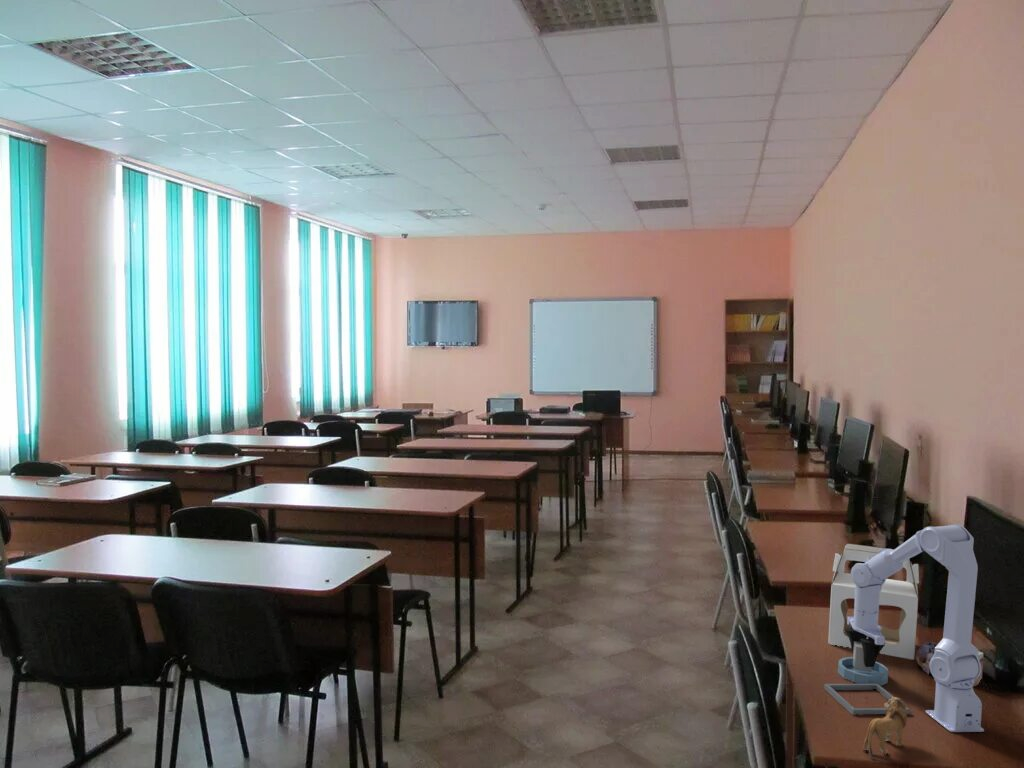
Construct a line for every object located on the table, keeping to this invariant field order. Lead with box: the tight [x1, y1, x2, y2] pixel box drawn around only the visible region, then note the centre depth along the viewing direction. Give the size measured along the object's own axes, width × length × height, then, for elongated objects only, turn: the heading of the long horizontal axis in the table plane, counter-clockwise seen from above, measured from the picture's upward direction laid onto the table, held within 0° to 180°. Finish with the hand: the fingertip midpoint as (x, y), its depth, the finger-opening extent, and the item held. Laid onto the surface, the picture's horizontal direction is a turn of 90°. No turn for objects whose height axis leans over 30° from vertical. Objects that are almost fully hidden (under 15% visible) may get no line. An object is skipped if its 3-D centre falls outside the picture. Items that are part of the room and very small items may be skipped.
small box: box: [973, 651, 984, 688], centre depth 201 cm, size 5×4×8 cm
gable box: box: [827, 543, 920, 661], centre depth 224 cm, size 22×13×28 cm, turn 64°
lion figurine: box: [862, 696, 908, 757], centre depth 167 cm, size 15×5×9 cm, turn 134°
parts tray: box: [823, 683, 911, 716], centre depth 188 cm, size 14×14×1 cm
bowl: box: [837, 656, 889, 687], centre depth 203 cm, size 12×12×2 cm
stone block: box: [852, 641, 872, 672], centre depth 202 cm, size 4×4×6 cm
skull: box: [914, 641, 938, 675], centre depth 208 cm, size 12×8×6 cm, turn 151°
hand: (863, 661), depth 202 cm, fingers closed on stone block, 5 cm apart
